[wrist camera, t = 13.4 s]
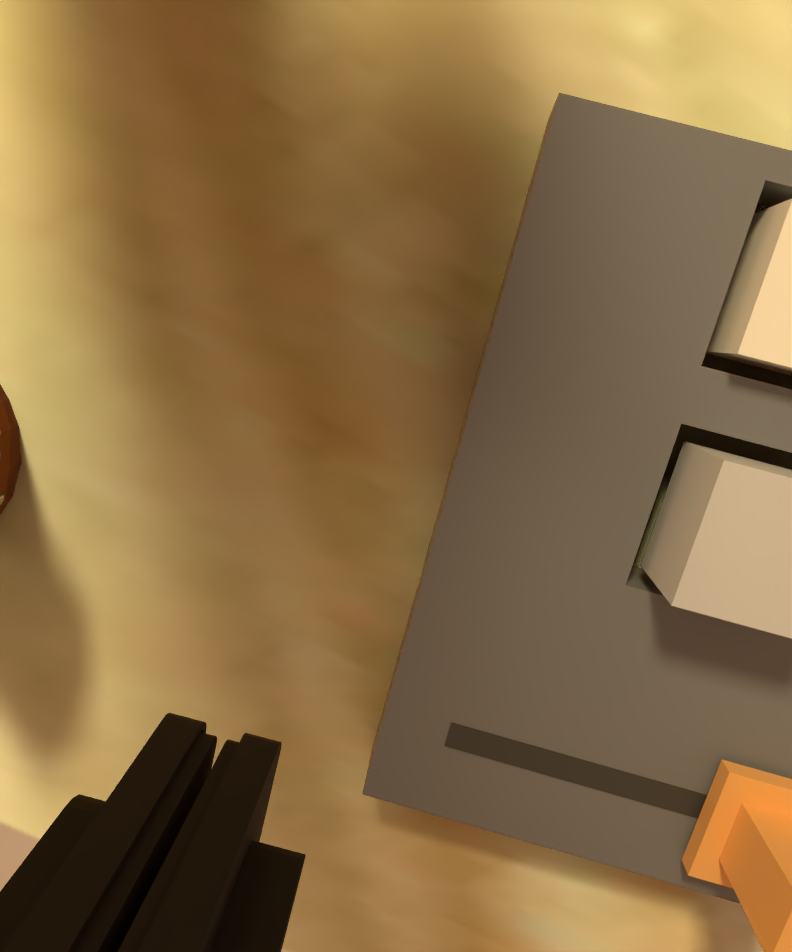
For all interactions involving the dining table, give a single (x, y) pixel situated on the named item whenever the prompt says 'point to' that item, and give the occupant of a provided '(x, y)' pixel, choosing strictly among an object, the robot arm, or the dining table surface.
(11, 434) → the food container
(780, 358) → the cream button
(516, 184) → the dining table surface
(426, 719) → the switch panel
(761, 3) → the dining table surface
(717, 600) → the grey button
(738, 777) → the orange slider handle
